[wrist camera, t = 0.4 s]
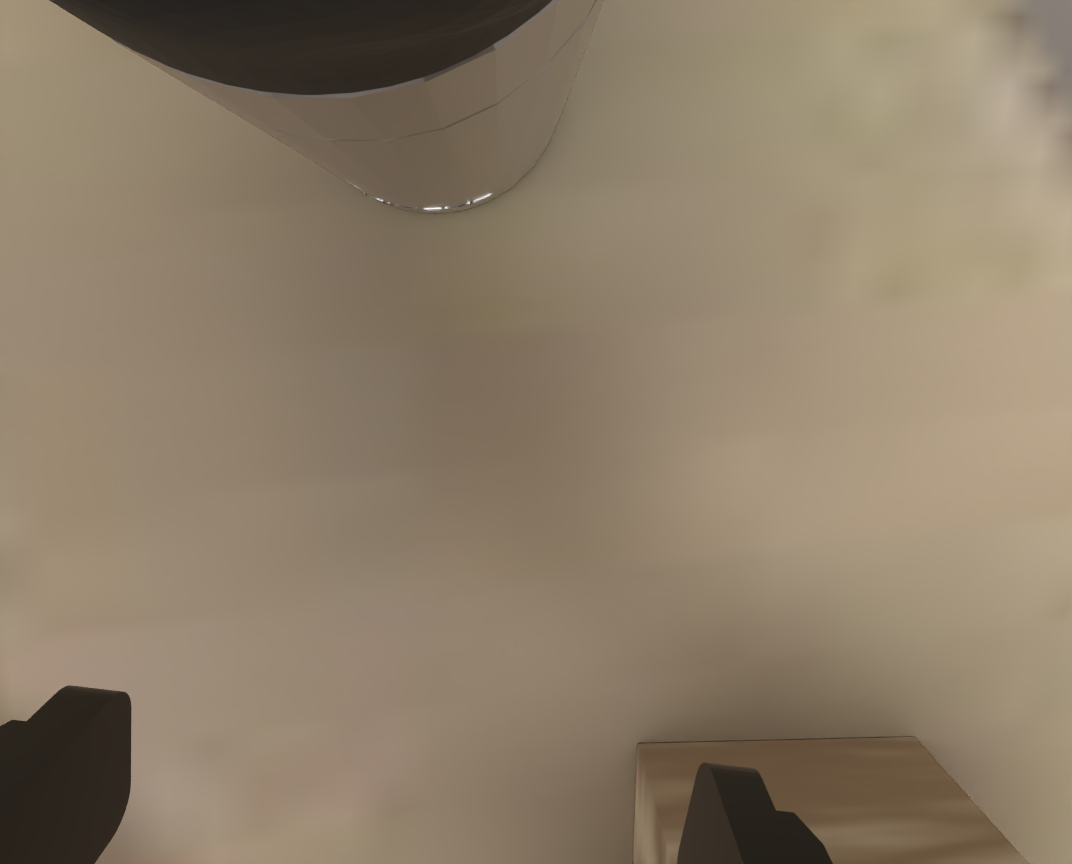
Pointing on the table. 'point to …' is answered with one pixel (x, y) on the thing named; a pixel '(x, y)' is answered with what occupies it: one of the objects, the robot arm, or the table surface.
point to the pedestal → (828, 799)
